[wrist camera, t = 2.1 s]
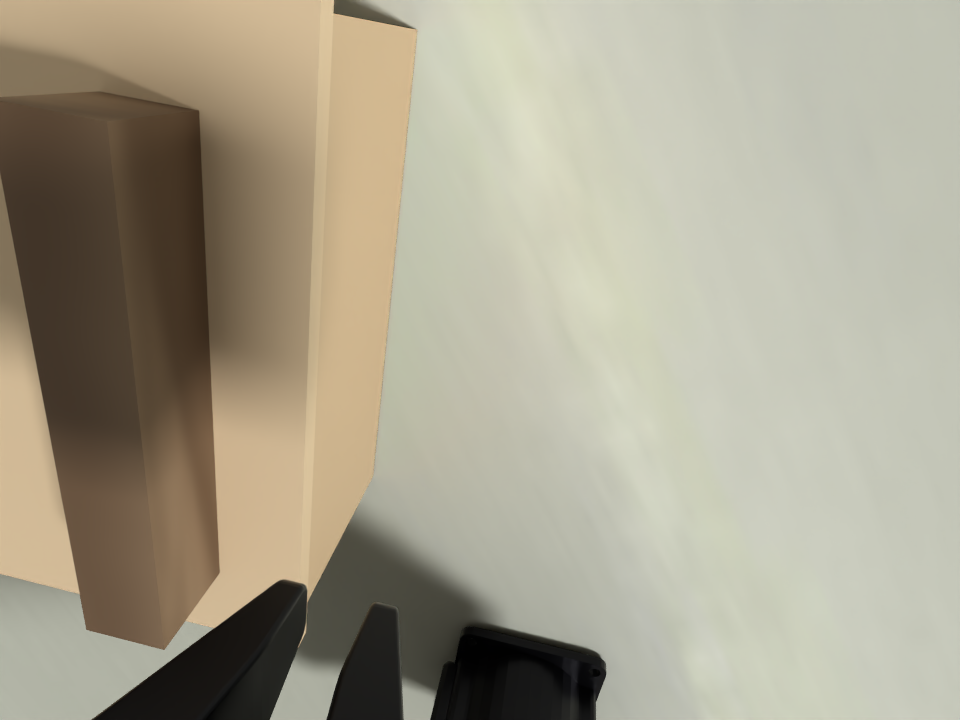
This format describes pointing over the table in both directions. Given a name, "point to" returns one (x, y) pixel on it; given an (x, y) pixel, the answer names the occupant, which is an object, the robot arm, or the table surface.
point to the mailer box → (356, 264)
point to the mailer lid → (160, 301)
